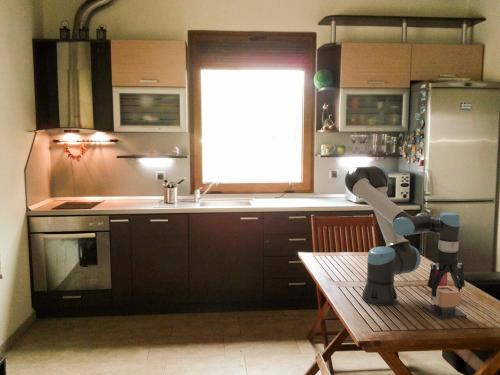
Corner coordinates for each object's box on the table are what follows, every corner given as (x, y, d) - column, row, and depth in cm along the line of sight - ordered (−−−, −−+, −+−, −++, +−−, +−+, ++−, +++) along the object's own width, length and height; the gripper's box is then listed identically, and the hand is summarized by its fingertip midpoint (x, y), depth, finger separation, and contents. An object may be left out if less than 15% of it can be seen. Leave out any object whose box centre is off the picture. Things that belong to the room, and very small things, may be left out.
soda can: (433, 288, 213) (435, 264, 212) (448, 292, 208) (450, 268, 207) (427, 292, 208) (428, 267, 207) (442, 296, 203) (444, 271, 202)
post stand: (438, 318, 177) (440, 296, 176) (423, 307, 189) (424, 286, 188) (466, 317, 179) (467, 295, 178) (449, 306, 191) (450, 285, 190)
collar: (441, 307, 179) (442, 293, 178) (430, 300, 187) (431, 286, 186) (459, 306, 180) (460, 292, 179) (448, 299, 188) (449, 285, 187)
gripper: (429, 253, 176) (426, 308, 178) (477, 251, 179) (473, 305, 181) (419, 248, 183) (417, 301, 186) (465, 247, 186) (462, 299, 188)
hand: (445, 303), depth 183 cm, fingers closed on collar, 8 cm apart
